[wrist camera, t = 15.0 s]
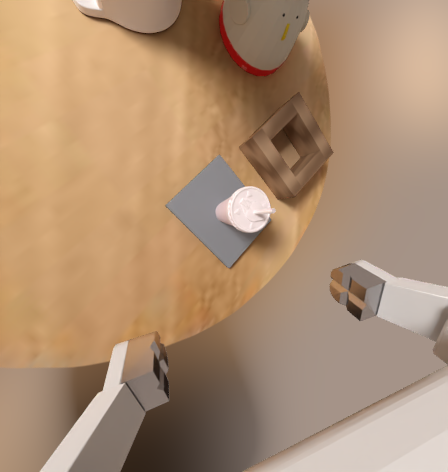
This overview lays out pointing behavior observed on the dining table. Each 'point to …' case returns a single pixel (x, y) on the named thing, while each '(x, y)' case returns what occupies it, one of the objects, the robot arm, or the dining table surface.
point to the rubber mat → (212, 211)
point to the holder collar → (303, 139)
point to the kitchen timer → (261, 31)
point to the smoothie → (245, 210)
